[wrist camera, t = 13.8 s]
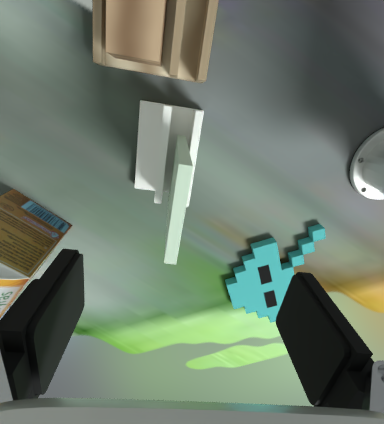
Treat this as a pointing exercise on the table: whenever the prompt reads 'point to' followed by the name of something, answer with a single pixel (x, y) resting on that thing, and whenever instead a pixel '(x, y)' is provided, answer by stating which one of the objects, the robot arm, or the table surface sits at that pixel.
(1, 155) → the table surface
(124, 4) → the offcut upper
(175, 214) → the sheet
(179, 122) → the stand
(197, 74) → the rack
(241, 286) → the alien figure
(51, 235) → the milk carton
